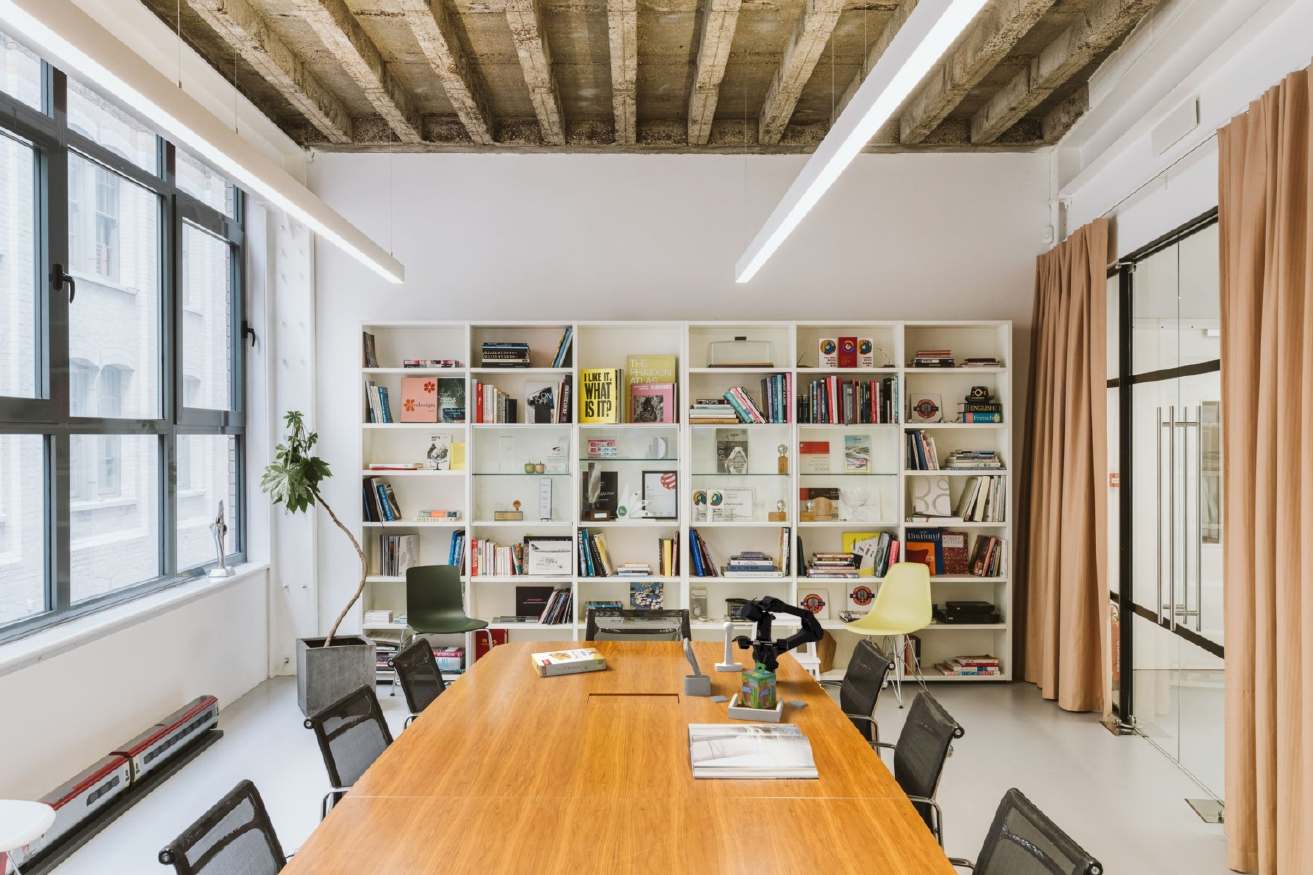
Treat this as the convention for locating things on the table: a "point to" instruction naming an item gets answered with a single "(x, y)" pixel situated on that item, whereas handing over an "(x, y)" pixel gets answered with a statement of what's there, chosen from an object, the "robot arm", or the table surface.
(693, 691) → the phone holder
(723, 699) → the tile
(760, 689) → the chalk box
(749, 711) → the corral
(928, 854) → the table surface
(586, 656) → the cereal box
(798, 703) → the tile
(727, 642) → the joystick
